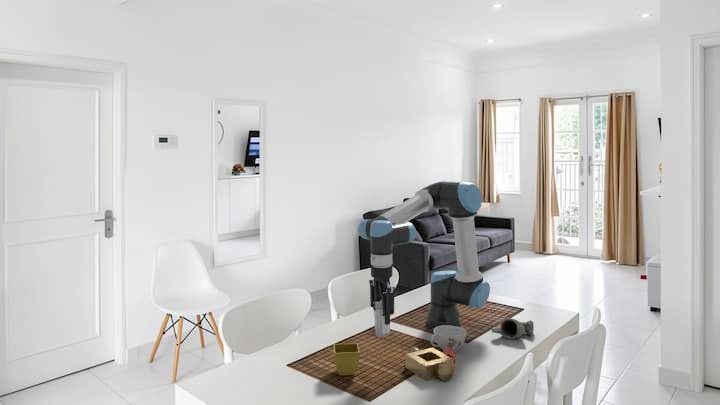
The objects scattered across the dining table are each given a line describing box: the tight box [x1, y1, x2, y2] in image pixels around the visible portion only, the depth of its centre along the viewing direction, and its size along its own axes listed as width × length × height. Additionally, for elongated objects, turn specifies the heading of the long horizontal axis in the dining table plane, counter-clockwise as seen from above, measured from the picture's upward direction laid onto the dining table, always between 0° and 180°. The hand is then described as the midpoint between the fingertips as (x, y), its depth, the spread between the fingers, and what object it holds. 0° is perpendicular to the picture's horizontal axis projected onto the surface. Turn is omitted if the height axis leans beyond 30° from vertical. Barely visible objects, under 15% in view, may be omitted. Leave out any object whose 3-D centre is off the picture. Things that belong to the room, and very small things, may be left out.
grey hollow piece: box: [491, 317, 534, 340], centre depth 213 cm, size 16×9×15 cm
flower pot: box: [332, 342, 361, 376], centre depth 179 cm, size 9×9×9 cm
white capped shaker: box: [375, 300, 390, 338], centre depth 180 cm, size 5×5×12 cm
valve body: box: [404, 346, 457, 382], centre depth 182 cm, size 20×15×6 cm
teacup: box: [430, 325, 468, 353], centre depth 199 cm, size 15×12×8 cm
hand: (382, 330), depth 181 cm, fingers closed on white capped shaker, 4 cm apart
